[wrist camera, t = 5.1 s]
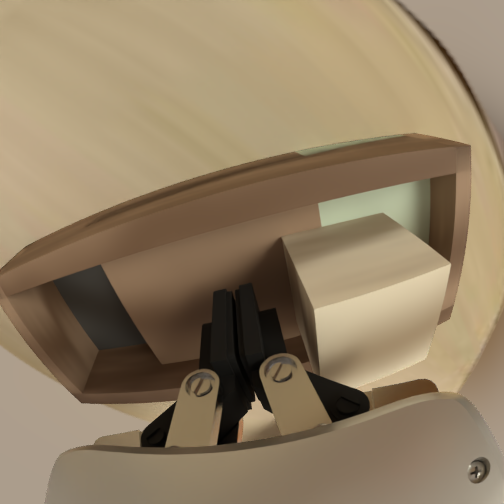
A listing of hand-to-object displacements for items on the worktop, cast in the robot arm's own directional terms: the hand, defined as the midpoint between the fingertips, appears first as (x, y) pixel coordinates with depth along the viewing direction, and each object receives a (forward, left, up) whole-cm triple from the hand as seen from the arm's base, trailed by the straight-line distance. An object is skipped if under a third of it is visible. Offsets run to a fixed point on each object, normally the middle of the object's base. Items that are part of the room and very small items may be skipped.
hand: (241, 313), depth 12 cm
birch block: (0, +5, -1) cm, 5 cm away
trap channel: (0, -1, -4) cm, 4 cm away
